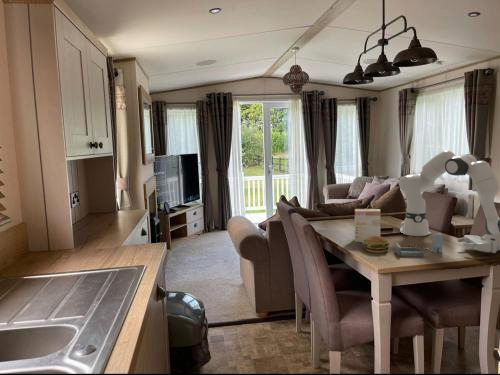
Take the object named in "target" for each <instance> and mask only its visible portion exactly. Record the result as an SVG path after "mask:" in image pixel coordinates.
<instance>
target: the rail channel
mask: <svg viewBox="0 0 500 375" xmlns="http://www.w3.org/2000/svg"><path fill="white" fill-rule="evenodd" d="M394 252H395V254H396V255H397V256H398V257H400V258H401V257H403V258H407V257H408V258H424V257H425V251H421V248H420V247H407V246H406V247H401V245H400V244H399V242H395V243H394Z"/></svg>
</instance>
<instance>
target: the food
mask: <svg viewBox="0 0 500 375" xmlns="http://www.w3.org/2000/svg"><path fill="white" fill-rule="evenodd" d="M361 244H363V245H364V248H365V251H367V252H369V253H374V254H383V253H387V251H388V250H389V246H390V243H389V242H388V240H387V239H386V238H385V237H383V236H381V235H380V236H371V237H369V238H367V239H366V240H364V242H361Z"/></svg>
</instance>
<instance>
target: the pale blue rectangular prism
mask: <svg viewBox="0 0 500 375" xmlns="http://www.w3.org/2000/svg"><path fill="white" fill-rule="evenodd" d="M443 236H444V234H442V233H441V232H440V233H439V232H432V239H431V242H432V244H431V245H432V246H431V251H432V252H433V254H442V253H443V242H444V241H443Z"/></svg>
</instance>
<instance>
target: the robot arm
mask: <svg viewBox="0 0 500 375" xmlns="http://www.w3.org/2000/svg"><path fill="white" fill-rule="evenodd" d="M445 173H447V174H448V175H451V176H456V177H458V176H466V175H467V176H469V177H470V178H471V180H472V184H473V185H474V188H475V191H476V194H477V196H478V200H479V203H480V207H481V210H482V212H483V215H484V219H485V231H486V232H487V234H483V235H482V236H479V235H471V234H465V235H463V237H459V238H457V239H456V241H457V242H458V243H463V247H466V248H472V249H475V250H476V251H477V252H487V253H490V254H491V253H492V254H496V253H497V252H499V251H500V217H499V214H498V211H497V209H496V206H495V197H496V196H497V194H498V193H499V190H500V184H499V182H498V178H497V177H496V174H495V172H494V170H493V168H492V167H491V166H490V163H488V162H487V161H485V160H481V159H480V157H478V156H477V155H475V154H473V153H467V154H466V153H465V154H460V155H456V154H455V153H454V152H453V151H451V150H444V151H442V152H440V153H438V154H436V155H435V156H433V157H432V158H431V159H430V160H429V161H427V162H426V163H425V164H424V165H423V166H422V170H421V172H419V173H414V174H407V175H404V176H402V177H401V178H399V182H398V187H399V188H400V190H401V191H403V193H404V196H405V198H406V212H405V218H404V220H403V221H402V222H401V223H400V226H401V227H399V233H400V232H401V233H403V234H402V235H407V236H411V237H412V236H414V237H425V236H427V235H431V234H432V232H431V231H429V230H430V228H429V221H428V220H427V212H426V207H427V206H426V205H427V204H426V202H427V201H426V200H425V198H424V197H422V193H421V192H422V191H427V190H429V189H432V188H433V187H434V185H435V181H436V180H438V179H439V178H440V177H441V176H442V175H443V174H445Z"/></svg>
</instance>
